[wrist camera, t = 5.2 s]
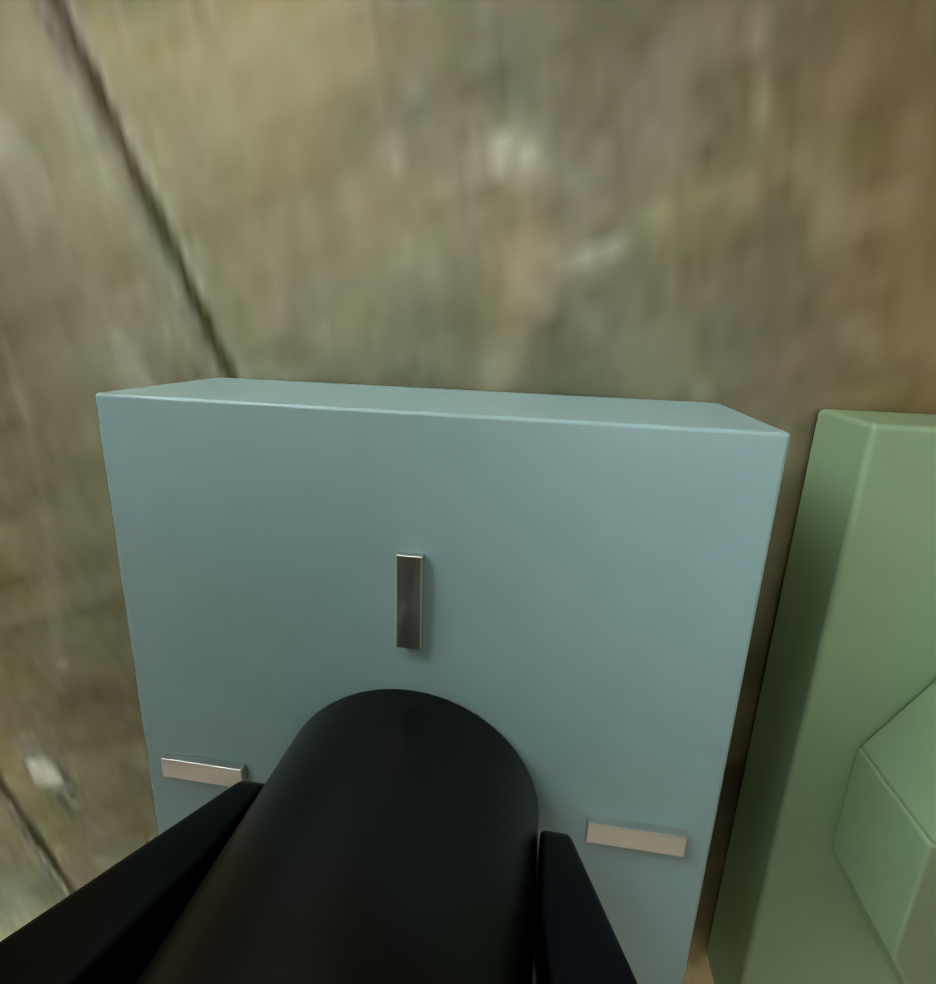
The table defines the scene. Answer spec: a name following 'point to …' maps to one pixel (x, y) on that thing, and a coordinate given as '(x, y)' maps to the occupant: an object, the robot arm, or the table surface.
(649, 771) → the dial panel
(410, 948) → the dial
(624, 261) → the table surface
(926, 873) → the switch box
